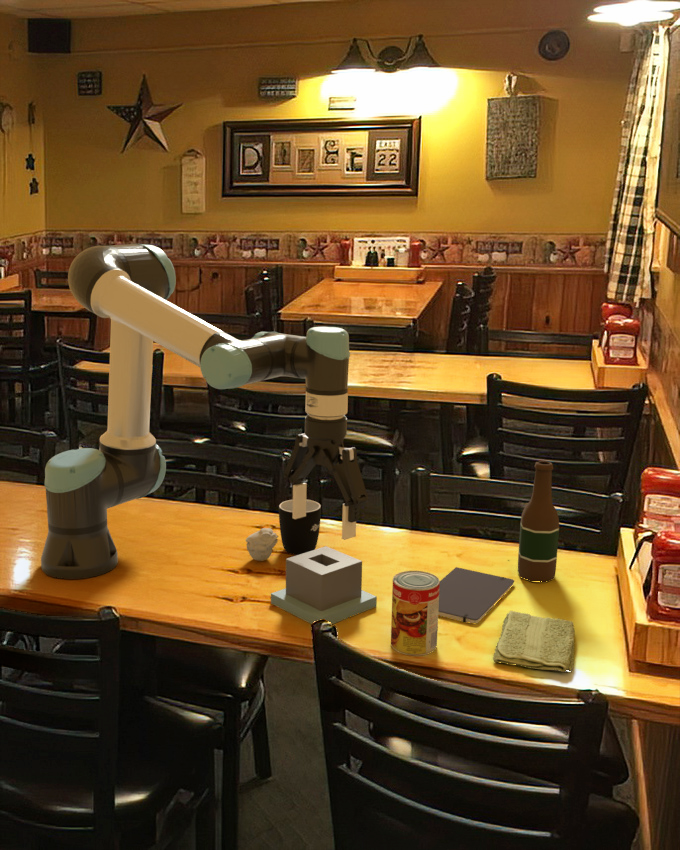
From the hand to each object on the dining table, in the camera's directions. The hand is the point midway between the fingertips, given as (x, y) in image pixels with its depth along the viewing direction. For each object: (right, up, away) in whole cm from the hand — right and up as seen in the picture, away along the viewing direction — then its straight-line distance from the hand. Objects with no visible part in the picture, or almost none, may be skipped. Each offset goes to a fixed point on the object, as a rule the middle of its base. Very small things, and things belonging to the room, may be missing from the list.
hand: (323, 527), depth 170 cm
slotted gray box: (0, -13, +3) cm, 13 cm away
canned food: (+16, -19, -11) cm, 27 cm away
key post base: (0, -15, +3) cm, 15 cm away
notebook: (+27, -15, +8) cm, 32 cm away
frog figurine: (-13, -10, +25) cm, 30 cm away
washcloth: (+37, -20, -12) cm, 43 cm away
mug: (-5, -8, +32) cm, 33 cm away
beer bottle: (+43, -12, +19) cm, 48 cm away
